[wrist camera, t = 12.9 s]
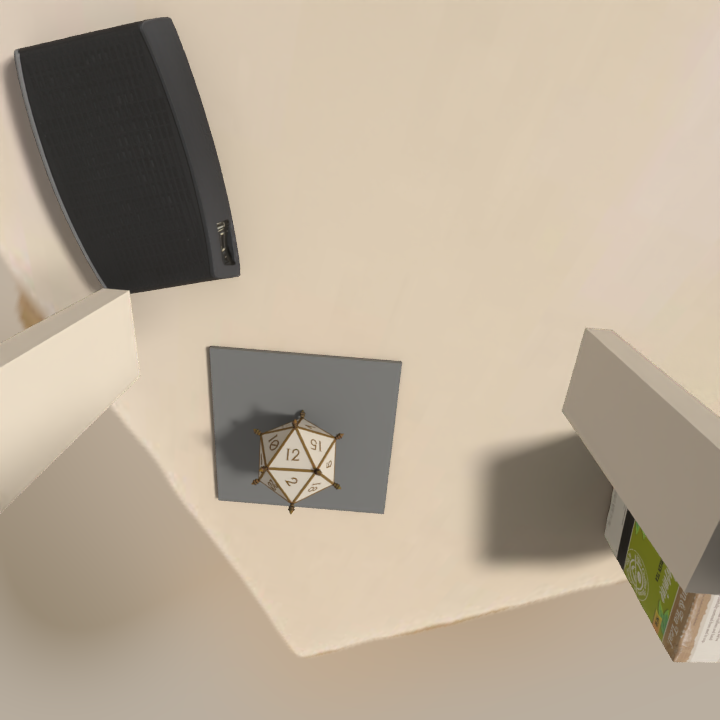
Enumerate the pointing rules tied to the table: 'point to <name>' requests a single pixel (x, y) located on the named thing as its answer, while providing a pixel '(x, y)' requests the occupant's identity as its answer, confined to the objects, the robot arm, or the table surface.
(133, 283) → the external hard drive
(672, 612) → the tea box
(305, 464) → the game die
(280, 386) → the mat
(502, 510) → the table surface
